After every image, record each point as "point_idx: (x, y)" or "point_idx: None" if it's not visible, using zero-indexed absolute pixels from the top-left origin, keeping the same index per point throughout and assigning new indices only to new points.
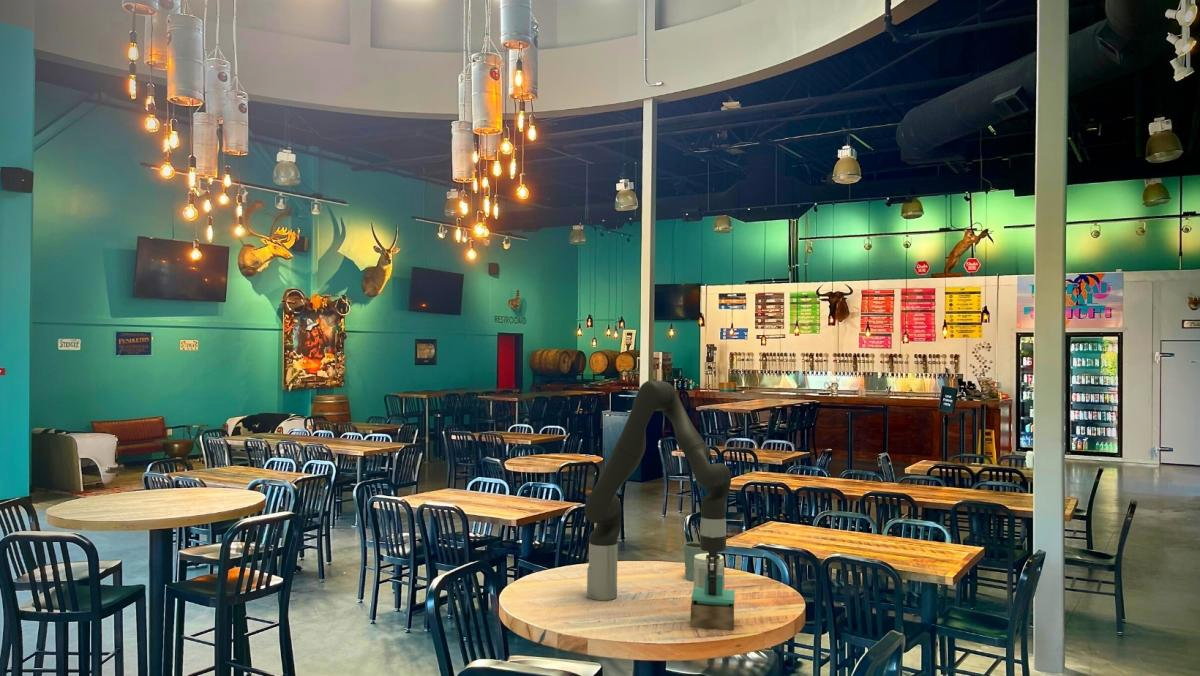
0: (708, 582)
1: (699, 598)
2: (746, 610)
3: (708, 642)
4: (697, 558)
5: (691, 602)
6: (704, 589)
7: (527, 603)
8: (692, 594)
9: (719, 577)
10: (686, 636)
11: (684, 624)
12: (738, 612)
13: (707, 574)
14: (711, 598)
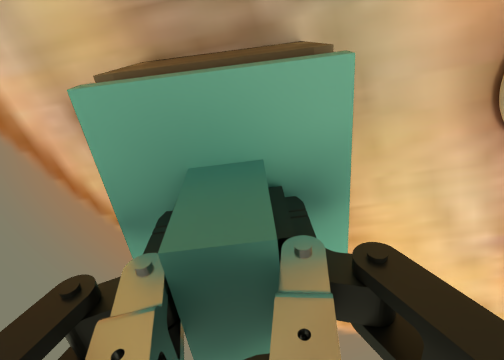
0: (158, 250)
1: (95, 146)
2: (456, 225)
3: (35, 160)
4: None
5: (157, 68)
6: (311, 147)
7: None
8: (130, 85)
9: (204, 352)
10: (50, 60)
11: (212, 14)
12: (429, 205)
13: (268, 257)
14: (119, 221)
